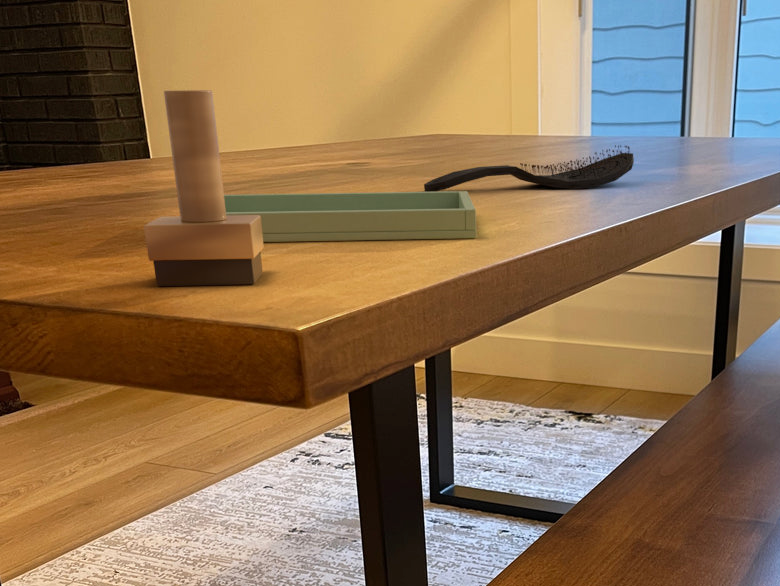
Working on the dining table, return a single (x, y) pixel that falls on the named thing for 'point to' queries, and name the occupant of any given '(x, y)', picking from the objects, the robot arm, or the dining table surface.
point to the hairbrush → (573, 179)
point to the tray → (359, 215)
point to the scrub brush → (201, 207)
